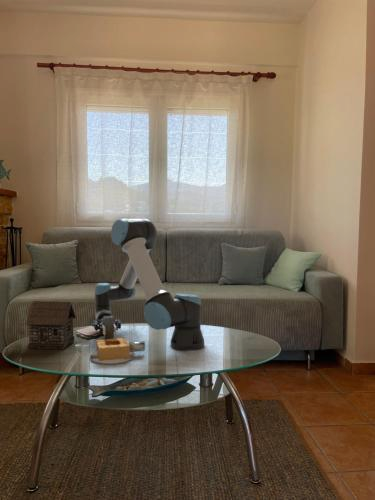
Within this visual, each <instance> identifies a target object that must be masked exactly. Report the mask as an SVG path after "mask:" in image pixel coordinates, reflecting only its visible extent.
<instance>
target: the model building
mask: <svg viewBox="0 0 375 500" xmlns="http://www.w3.org/2000/svg"><path fill="white" fill-rule="evenodd" d="M76 317H77V316H76V312H75V310H74V307H73V304H72V302H71V301H56V300H55V301H53V300H52V301H49V300H45V301H44V300H33V301H32V302H31V303H30V307H29V312H28V314H27V318H26V322H25V325H26V326H28V329H27V330H28V343H27V348H29V349H35V350H36V349H38V350H39V349H40V350H41V349H42V350H65V349H67V348H69V347H70V346H71V345H72V344H73V343H74V341H75V336H74V319H77V318H76Z"/></svg>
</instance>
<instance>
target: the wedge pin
mask: <svg viewBox="0 0 375 500" xmlns="http://www.w3.org/2000/svg"><path fill="white" fill-rule="evenodd" d="M114 319H115V318H114V316H113V315H112V316H104V326H105V335H104V334H103V339H115V333H114Z"/></svg>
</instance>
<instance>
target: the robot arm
mask: <svg viewBox="0 0 375 500" xmlns="http://www.w3.org/2000/svg"><path fill="white" fill-rule="evenodd" d="M157 237H158V232H157V227H156V226H155V224H154V223H153V222H152V221H151V220H149V219H147V218H126V217H125V218H124V217H123V218H118V219H116V220H115V221H114V222H113V224H112V227H111V231H110V238H111V241H112V243H113V244H114V245H117V246H119V247H120V248H121V250H122V252H124V253H126V255H128V258H129V260H128V262H127V265H126V266H125V269H124V271H123V274H122V276H121V278H120V281H119V283H118V285H111V284H110V283H108V282H98V283H96V284H95V288H94V297H95V298H94V301H95V305H94V306H95V310H94V318H95V320H94V319H92V320H91V326H92V327H93V329H94V330H95V331H98V330H99V333H102V334H103V336H104V335H105V326H104V316H113V314H112V311H111V306H112V305H111V303H112V302H115V301H121V300H128V299H131V298H134V296H135V295H136V288H135V284H136V282H137V280H138V282H139V283H140V286H141V289H142V291H143V294H144V295H145V298H146V299H145V302H144V305H145V306H144V309H143V312H144V313H143V316H144V320H145V322H146V323H147V325H148V326H149V327H150V328H151V329H155V330H158V331H159V330H166V329H169V328H173V327H174V330H173V332H172V335H171V338H170V347H171V348H173V349H175V350H178V351H195V350H196V351H197V350H200V349H203V348H204V347H205V339H204V335H203V332H202V330H201V329H202V328H201V320H202V319H201V316H202V314H201V313H202V303H201V297H200V296H199V295H197V294H189V293H175V294H174V297H173V296H172V295H171V292H170V291H167V290H165V287H164V285H163V283H162V281H161V279H160V277H159V274H158V272H157V269H156V267H155V265H154V263H153V261H152V258H151V256H150V251H151V250H153V249H155V248H154V247H155V245H156V242H157V239H158V238H157ZM121 320H122V319H121V318H117V319H116V318H114V335H115V334H117V331H119V330H121V329H122V322H121Z"/></svg>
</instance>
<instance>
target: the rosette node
mask: <svg viewBox="0 0 375 500" xmlns="http://www.w3.org/2000/svg"><path fill="white" fill-rule="evenodd" d="M95 341H96V342H95V344H96V350H95V351H93V352H92V353H91V354H90V355H89V359H90V360H89V361H91V362H92V363H95V364H98V365H103V364H104V365H105V366H106V365H107V366H108V365H109V366H111V365H112V366H113V365H120V364H126V363H129V362H131V361H132V360H134V359H135V357H136V354H135V353H138V352H139V353H140V352H145V350H146V344H145V341H142V340H141V341H132V342H130V341H129V342H128V341H127V339H126V337H117V338H115V337H114V339H104V338H103V339H96V340H95Z"/></svg>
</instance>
